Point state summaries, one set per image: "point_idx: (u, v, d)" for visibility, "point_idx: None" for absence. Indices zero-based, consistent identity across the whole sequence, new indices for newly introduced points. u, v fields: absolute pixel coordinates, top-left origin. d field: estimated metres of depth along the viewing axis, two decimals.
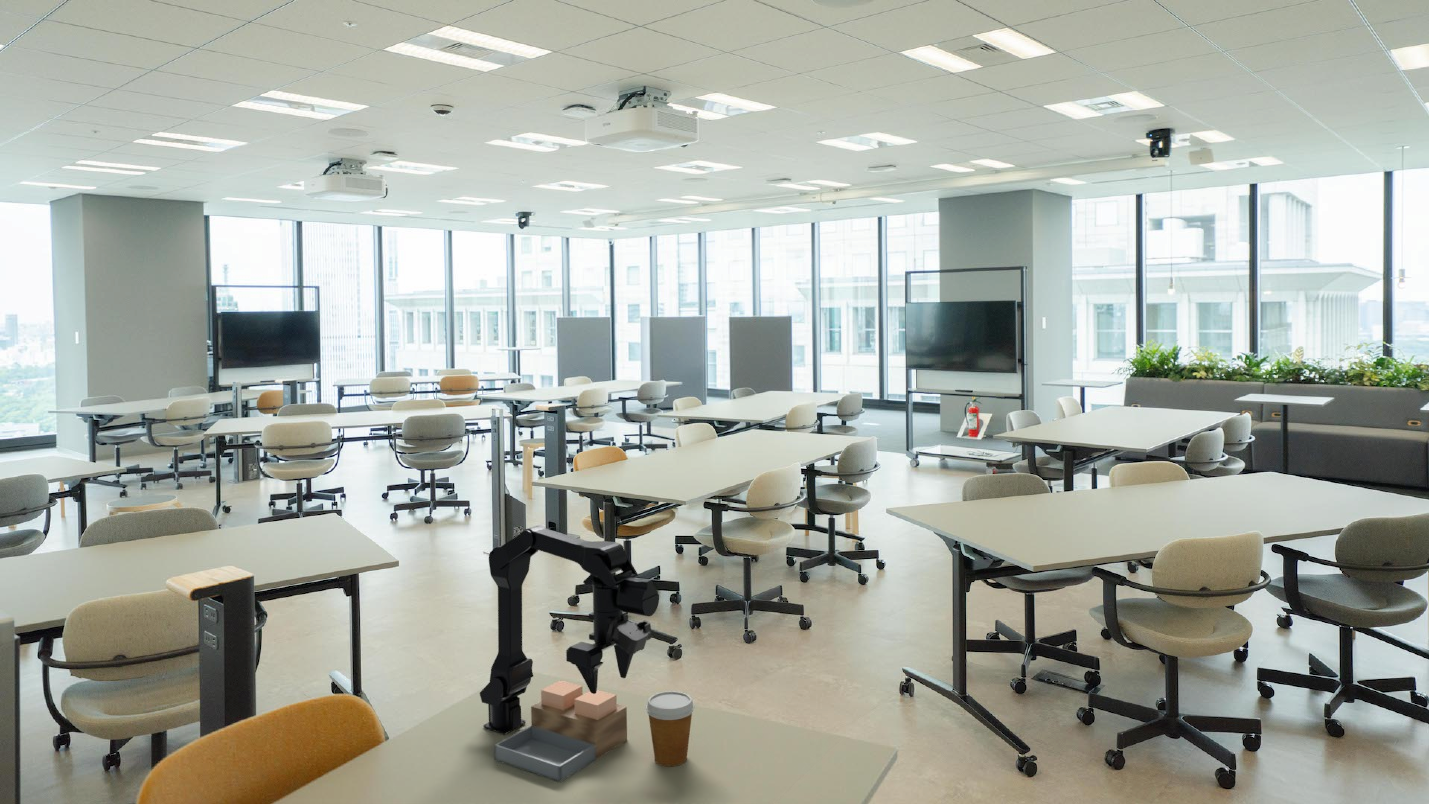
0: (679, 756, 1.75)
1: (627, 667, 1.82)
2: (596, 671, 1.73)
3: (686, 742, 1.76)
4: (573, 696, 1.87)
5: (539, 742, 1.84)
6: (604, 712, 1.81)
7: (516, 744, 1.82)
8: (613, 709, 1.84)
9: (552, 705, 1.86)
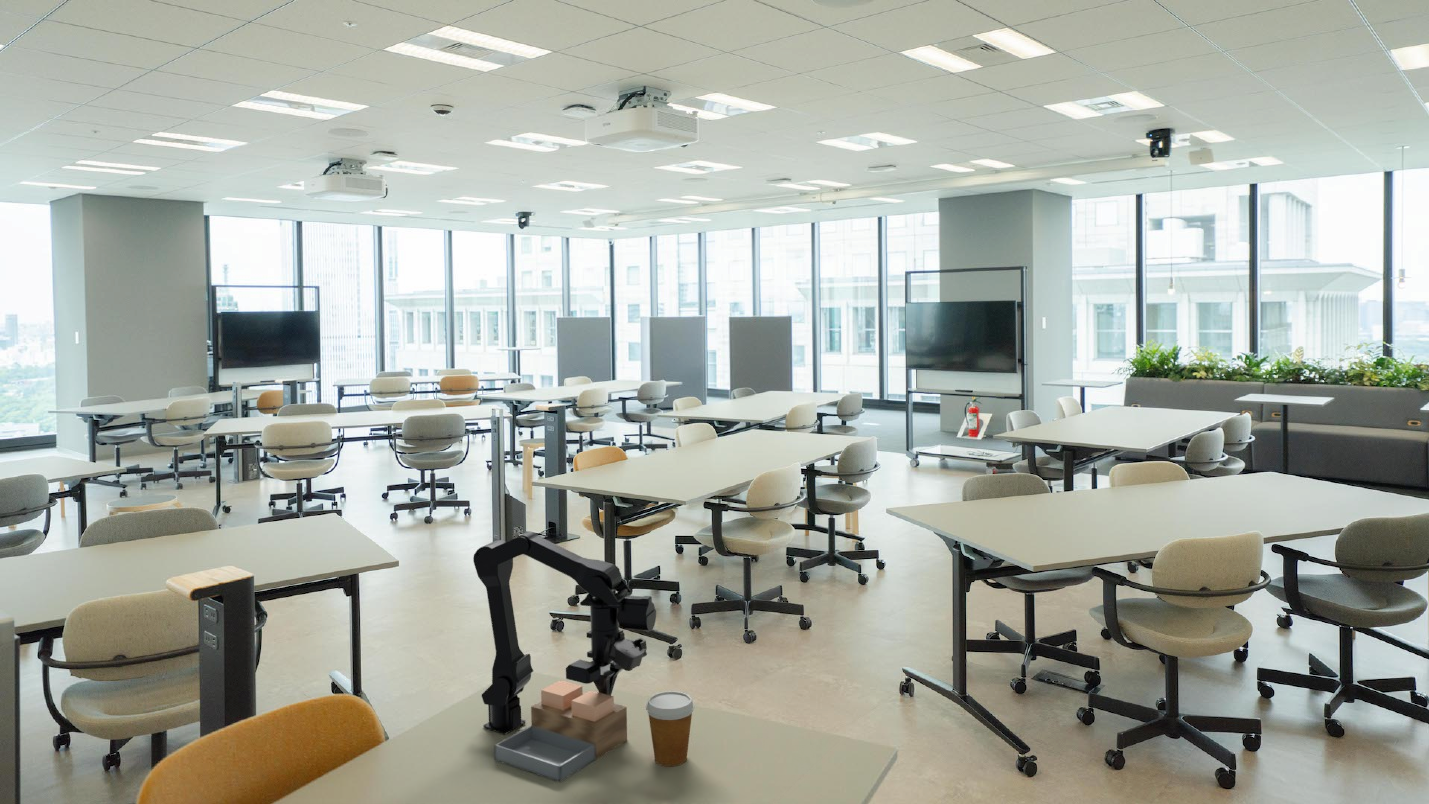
0: (679, 756, 1.75)
1: (611, 690, 1.86)
2: (608, 680, 1.85)
3: (686, 742, 1.76)
4: (573, 696, 1.87)
5: (539, 742, 1.84)
6: (601, 714, 1.80)
7: (516, 744, 1.82)
8: (610, 711, 1.83)
9: (552, 705, 1.86)
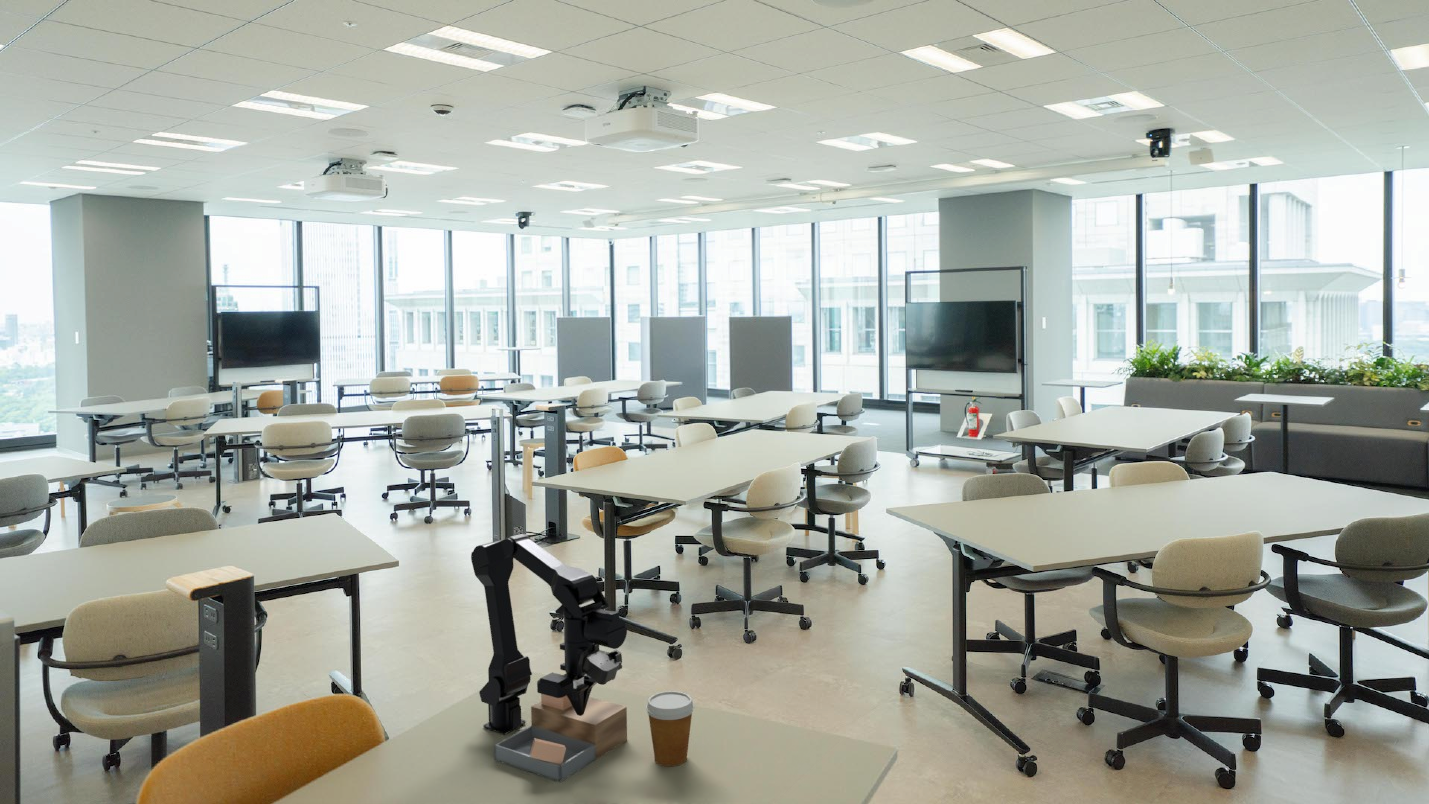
0: (679, 756, 1.75)
1: (585, 704, 1.79)
2: (582, 694, 1.78)
3: (686, 742, 1.76)
4: None
5: None
6: (554, 749, 1.71)
7: (516, 744, 1.82)
8: (540, 744, 1.71)
9: (552, 705, 1.86)
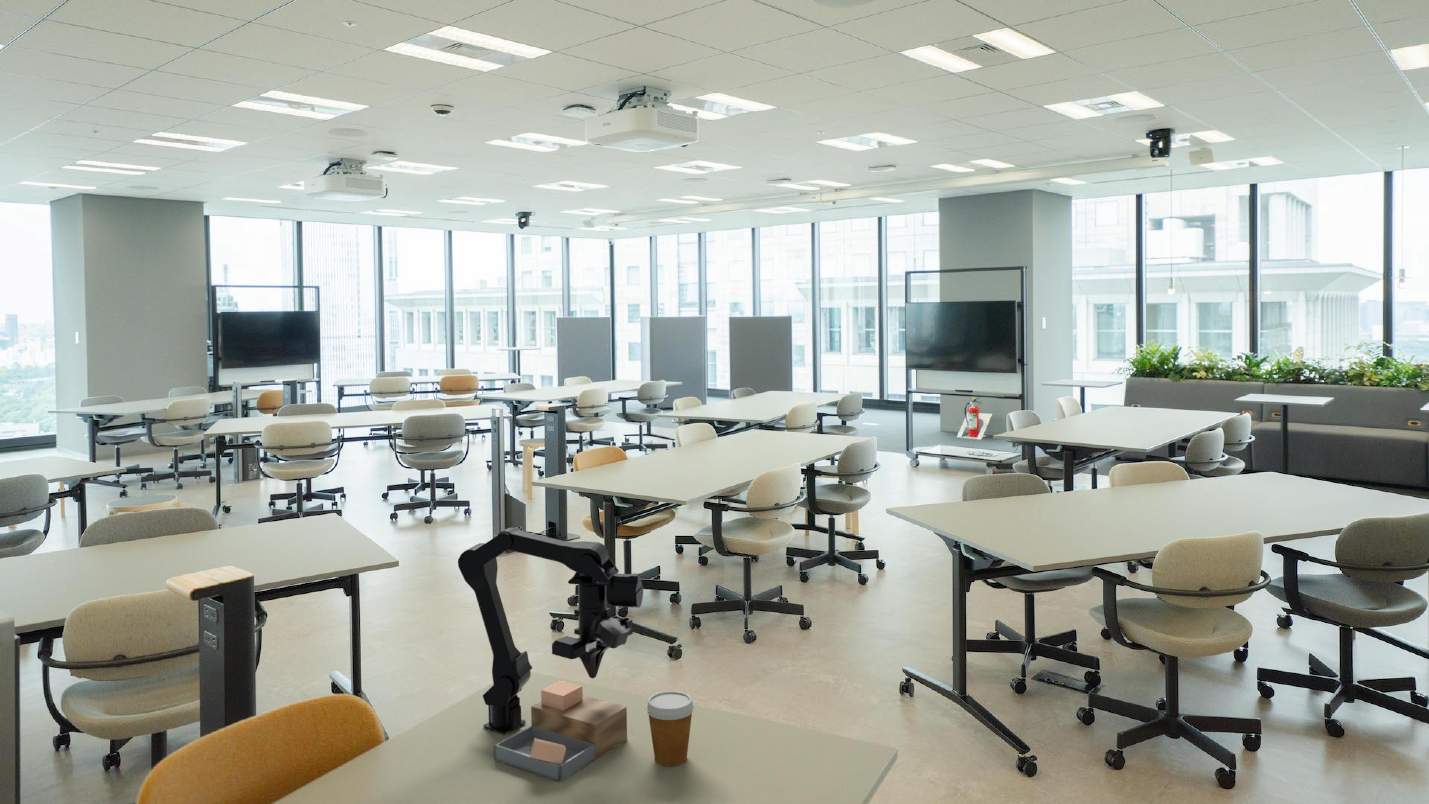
0: (679, 756, 1.75)
1: (597, 667, 1.89)
2: (594, 657, 1.87)
3: (686, 742, 1.76)
4: (573, 696, 1.87)
5: None
6: (554, 749, 1.71)
7: (516, 744, 1.82)
8: (540, 744, 1.71)
9: (552, 705, 1.86)
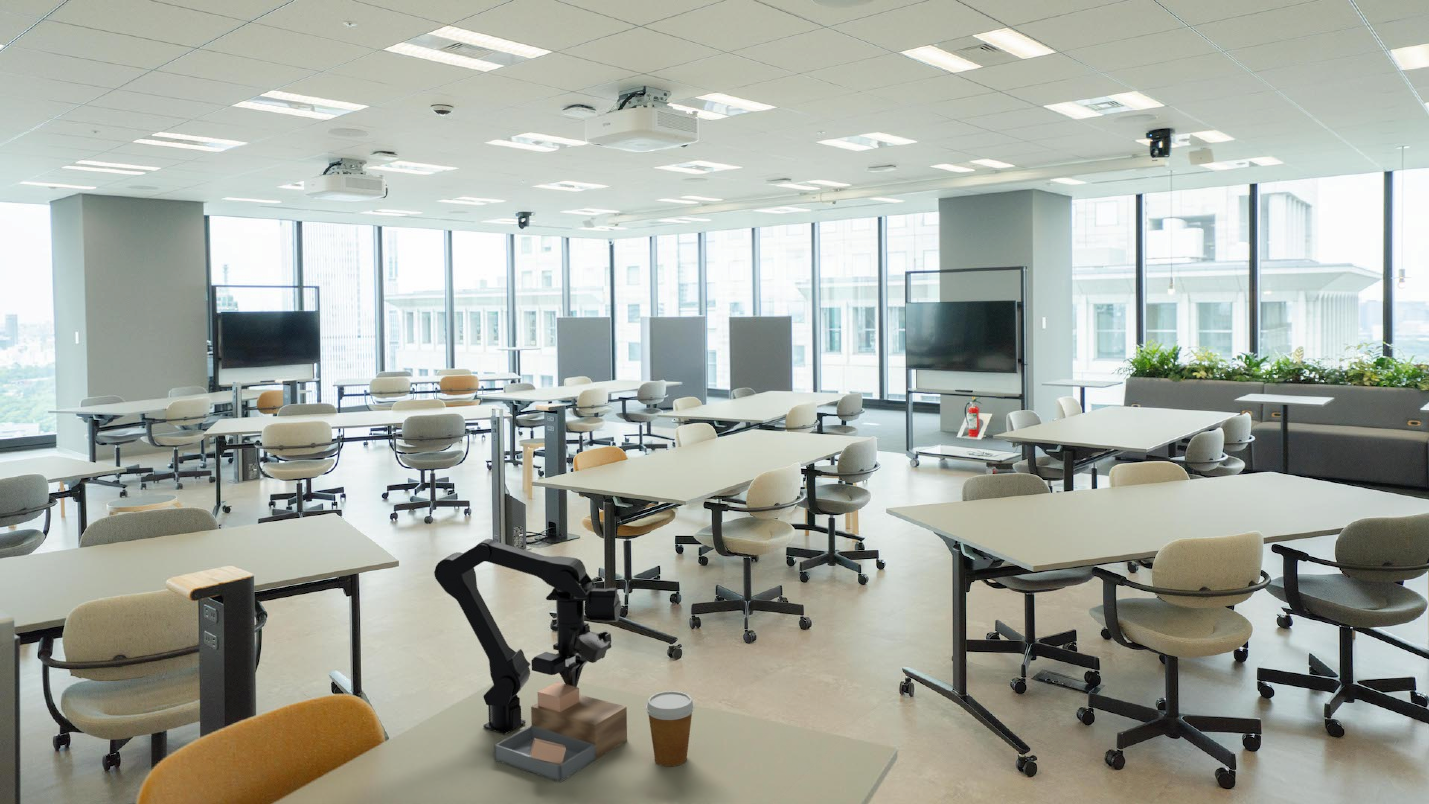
0: (679, 756, 1.75)
1: (576, 681, 1.91)
2: (574, 672, 1.89)
3: (686, 742, 1.76)
4: (570, 697, 1.86)
5: None
6: (554, 749, 1.71)
7: (516, 744, 1.82)
8: (540, 744, 1.71)
9: (549, 707, 1.85)
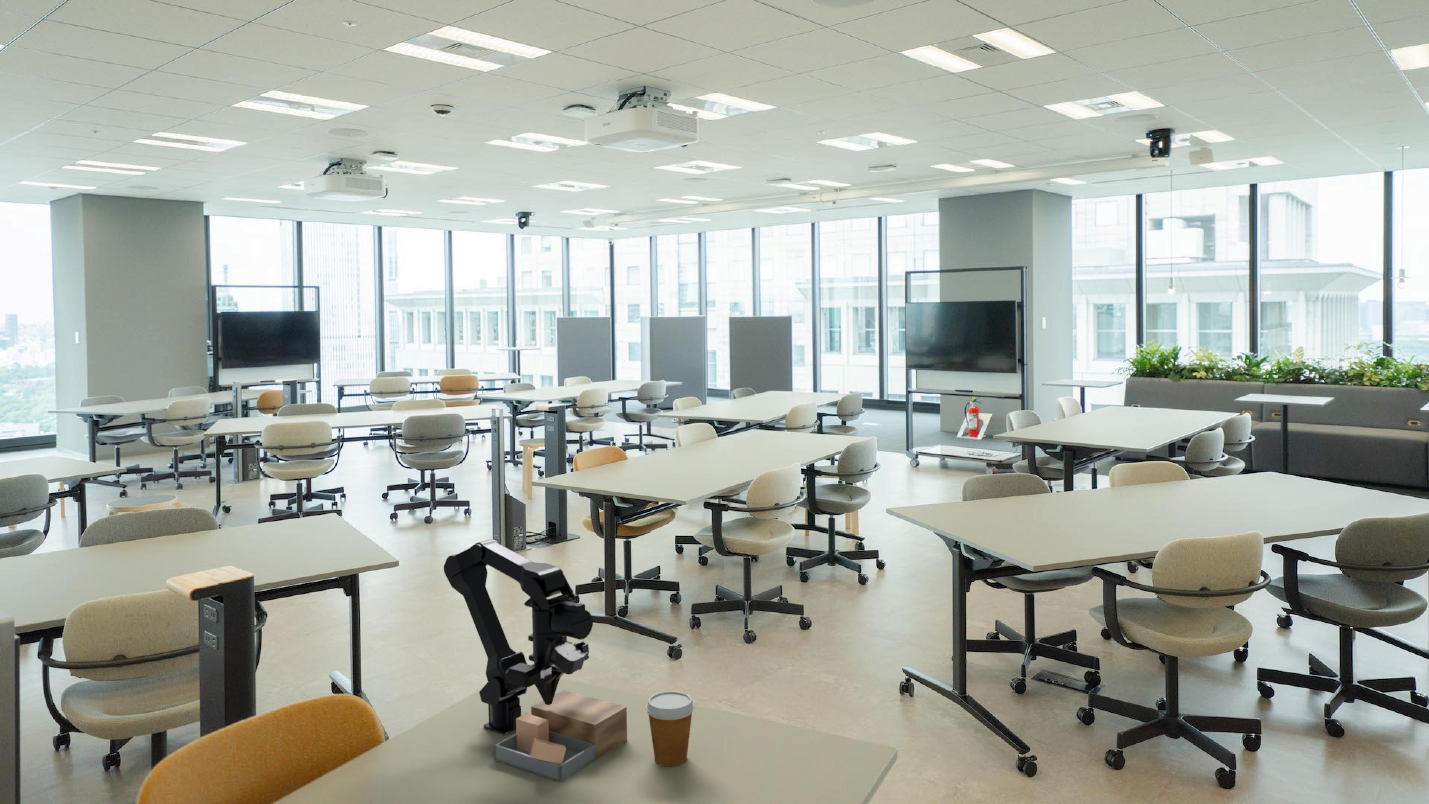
0: (679, 756, 1.75)
1: (553, 693, 1.85)
2: (550, 684, 1.83)
3: (686, 742, 1.76)
4: (542, 736, 1.80)
5: None
6: (554, 749, 1.71)
7: (516, 744, 1.82)
8: (540, 744, 1.71)
9: None
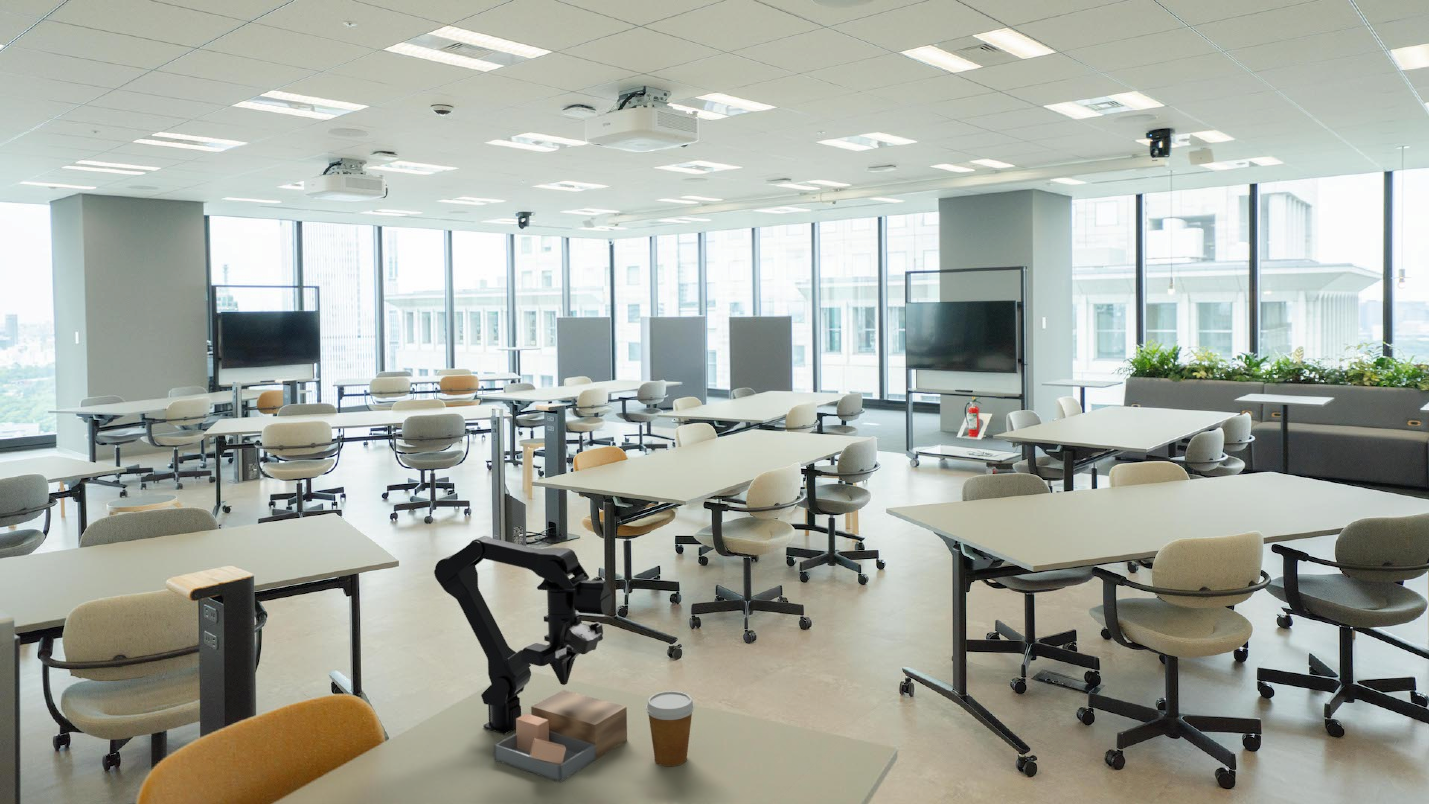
0: (679, 756, 1.75)
1: (568, 673, 1.88)
2: (565, 664, 1.86)
3: (686, 742, 1.76)
4: (542, 736, 1.80)
5: None
6: (554, 749, 1.71)
7: (516, 744, 1.82)
8: (540, 744, 1.71)
9: None
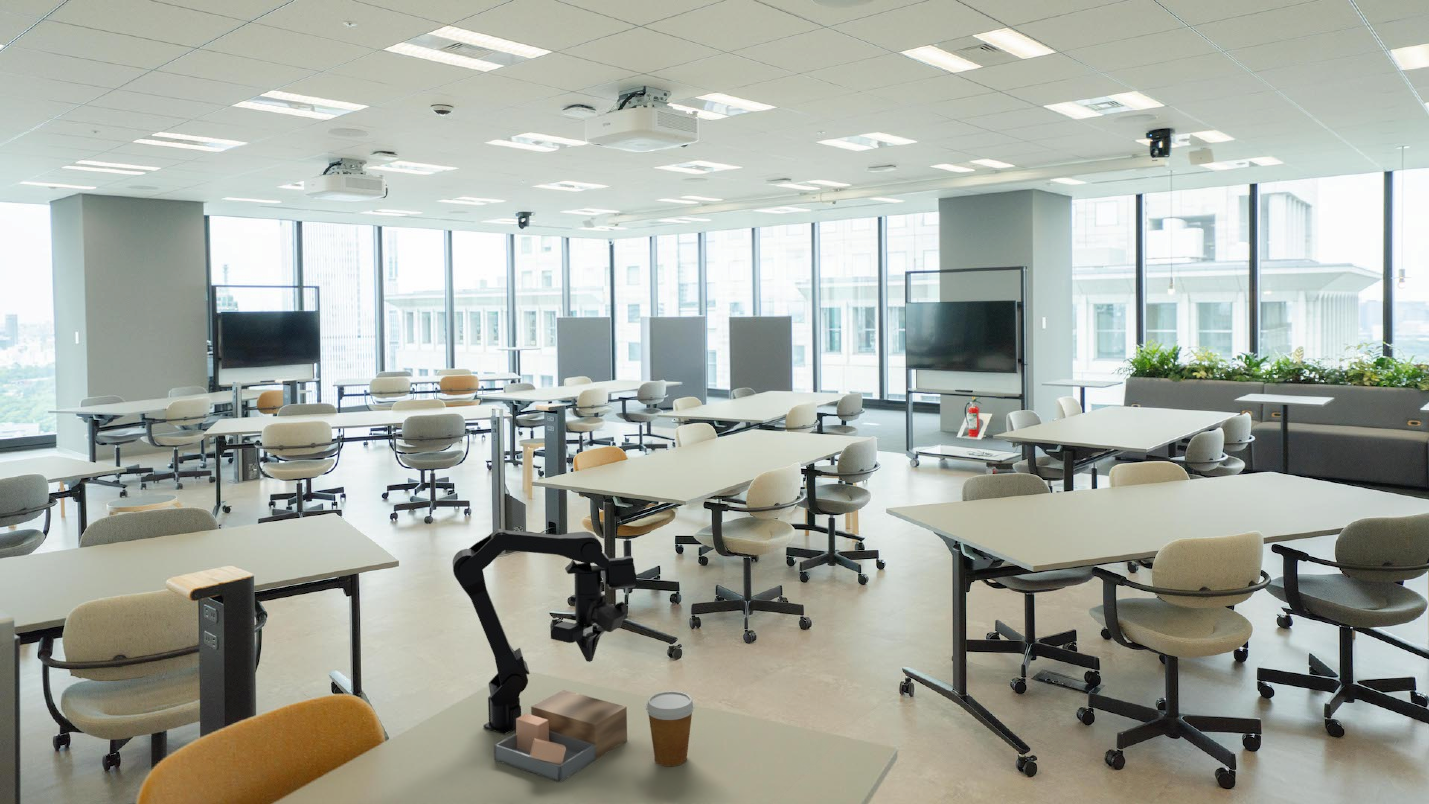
0: (679, 756, 1.75)
1: (593, 651, 1.98)
2: (591, 641, 1.96)
3: (686, 742, 1.76)
4: (542, 736, 1.80)
5: None
6: (554, 749, 1.71)
7: (516, 744, 1.82)
8: (540, 744, 1.71)
9: None
